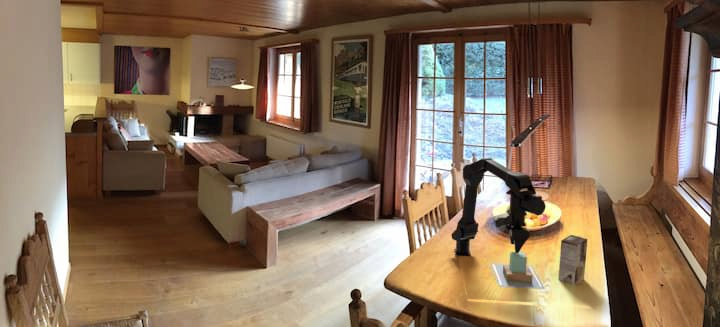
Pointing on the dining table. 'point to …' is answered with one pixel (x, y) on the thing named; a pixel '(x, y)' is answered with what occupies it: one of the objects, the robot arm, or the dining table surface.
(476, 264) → the dining table surface
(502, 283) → the board
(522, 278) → the plinth
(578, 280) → the coffee box
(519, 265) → the teal block
